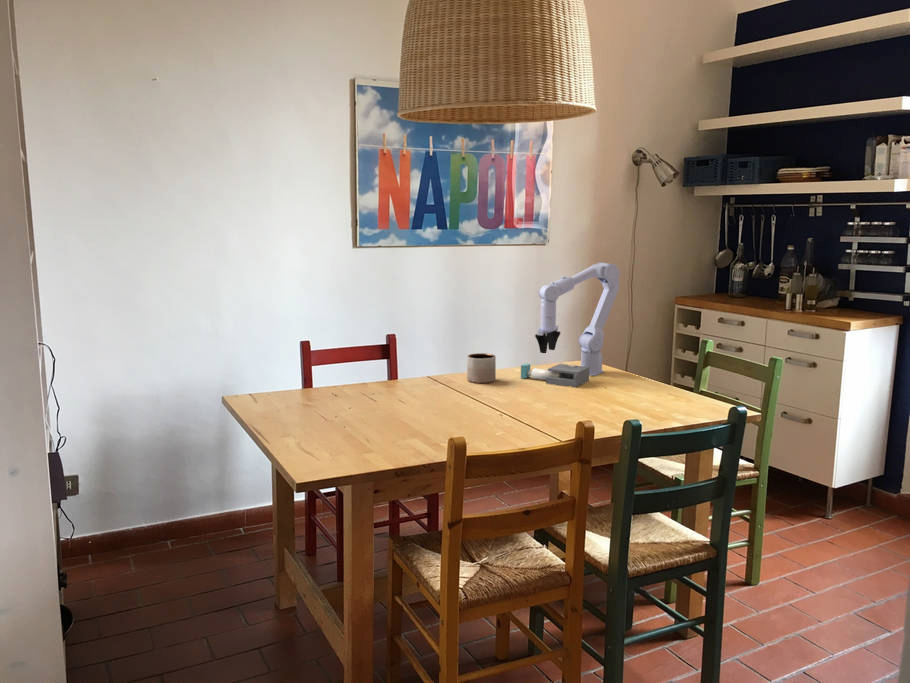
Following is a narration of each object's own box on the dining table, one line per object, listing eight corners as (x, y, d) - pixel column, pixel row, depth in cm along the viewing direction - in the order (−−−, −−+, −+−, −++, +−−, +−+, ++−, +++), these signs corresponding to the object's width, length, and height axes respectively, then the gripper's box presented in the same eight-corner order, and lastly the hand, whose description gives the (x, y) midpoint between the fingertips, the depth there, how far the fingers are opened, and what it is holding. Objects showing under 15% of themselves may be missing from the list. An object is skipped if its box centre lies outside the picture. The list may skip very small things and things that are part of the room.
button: (570, 371, 302) (570, 364, 302) (576, 371, 301) (576, 365, 301) (567, 372, 300) (567, 365, 300) (573, 372, 299) (573, 366, 299)
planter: (498, 383, 297) (499, 358, 295) (470, 384, 295) (470, 359, 293) (491, 377, 307) (491, 352, 306) (464, 378, 305) (464, 353, 303)
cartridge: (525, 376, 308) (525, 363, 307) (562, 380, 300) (562, 368, 299) (520, 378, 304) (521, 365, 303) (557, 382, 296) (558, 369, 295)
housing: (559, 377, 307) (560, 363, 306) (588, 381, 300) (589, 367, 299) (545, 383, 296) (546, 369, 295) (575, 387, 290) (576, 373, 289)
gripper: (547, 313, 312) (546, 347, 315) (530, 318, 300) (529, 353, 303) (563, 314, 309) (562, 349, 311) (547, 319, 297) (546, 355, 299)
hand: (547, 351), depth 307 cm, fingers open, 7 cm apart
